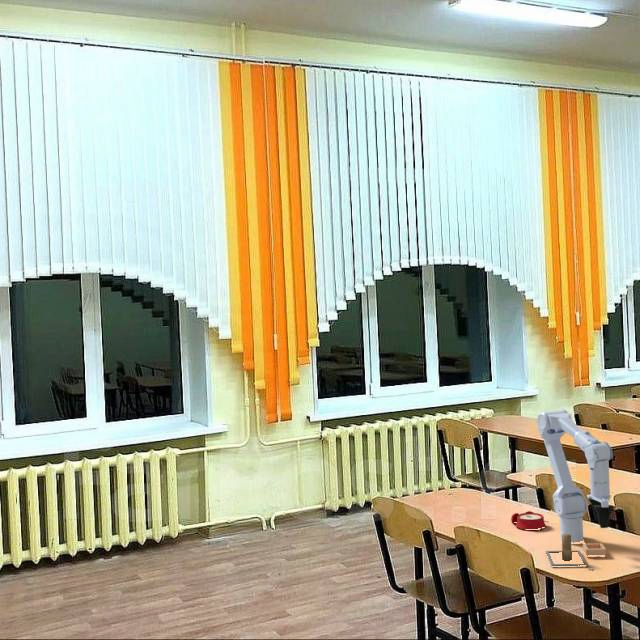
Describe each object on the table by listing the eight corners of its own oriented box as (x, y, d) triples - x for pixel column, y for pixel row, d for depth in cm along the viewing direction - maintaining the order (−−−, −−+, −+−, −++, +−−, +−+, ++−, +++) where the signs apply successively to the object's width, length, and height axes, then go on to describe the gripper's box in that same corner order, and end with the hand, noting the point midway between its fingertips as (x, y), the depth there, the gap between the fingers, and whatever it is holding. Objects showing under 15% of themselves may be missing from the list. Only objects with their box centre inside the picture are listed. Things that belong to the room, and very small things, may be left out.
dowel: (561, 559, 266) (560, 534, 266) (570, 559, 266) (569, 534, 265) (563, 562, 263) (562, 536, 263) (572, 562, 263) (571, 536, 263)
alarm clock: (526, 523, 296) (505, 504, 310) (525, 540, 298) (504, 520, 311) (553, 519, 299) (530, 500, 313) (551, 535, 301) (529, 516, 314)
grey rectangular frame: (545, 554, 273) (545, 550, 273) (579, 554, 271) (579, 550, 271) (551, 568, 259) (551, 565, 259) (587, 568, 258) (587, 564, 258)
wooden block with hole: (583, 552, 272) (582, 543, 272) (602, 552, 272) (602, 543, 271) (586, 559, 266) (586, 549, 266) (606, 558, 266) (605, 549, 265)
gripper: (582, 476, 275) (584, 518, 275) (590, 487, 261) (592, 531, 261) (605, 475, 274) (606, 517, 274) (614, 486, 260) (616, 530, 260)
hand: (601, 524), depth 268 cm, fingers open, 7 cm apart
